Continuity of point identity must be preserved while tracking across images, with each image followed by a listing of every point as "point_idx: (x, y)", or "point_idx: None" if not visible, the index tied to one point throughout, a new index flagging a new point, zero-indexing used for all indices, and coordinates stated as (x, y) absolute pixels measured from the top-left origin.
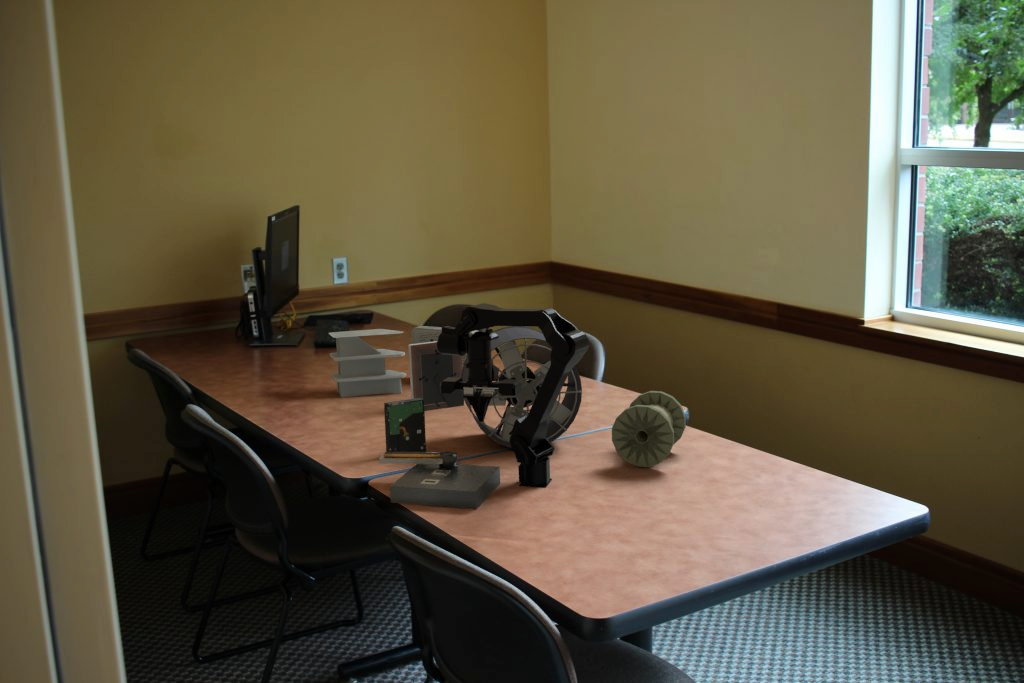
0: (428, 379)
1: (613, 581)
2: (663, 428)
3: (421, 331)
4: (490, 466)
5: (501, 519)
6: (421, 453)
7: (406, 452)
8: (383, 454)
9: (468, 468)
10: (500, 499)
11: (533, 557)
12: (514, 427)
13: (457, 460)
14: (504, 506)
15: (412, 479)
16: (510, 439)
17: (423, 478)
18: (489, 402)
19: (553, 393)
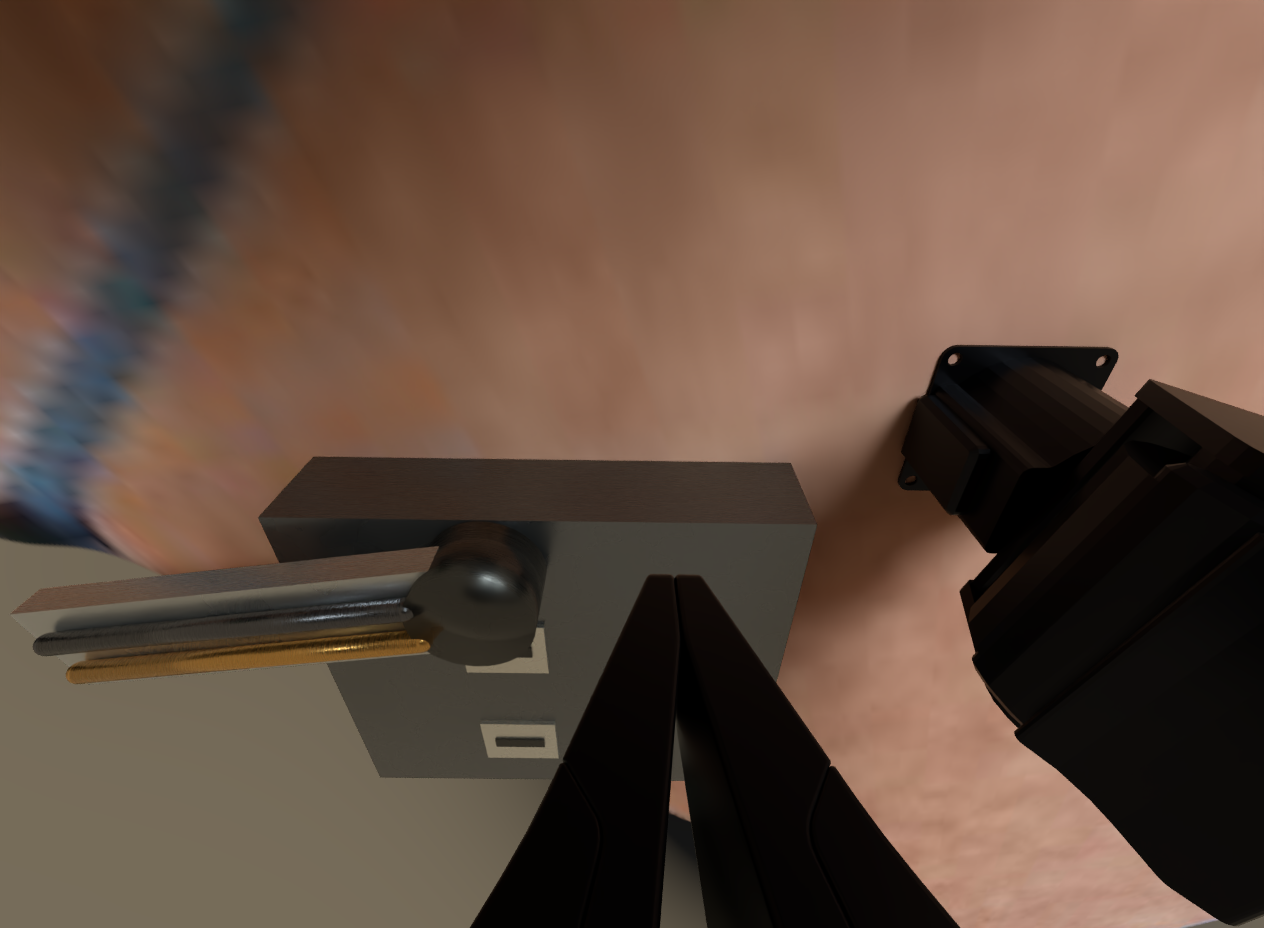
0: None
1: (1086, 910)
2: None
3: None
4: (755, 529)
5: (838, 755)
6: (283, 632)
7: (178, 642)
8: (74, 683)
9: (627, 576)
10: (816, 633)
11: (930, 874)
12: (1126, 825)
13: (539, 577)
14: (839, 682)
15: (420, 721)
16: (999, 696)
17: (463, 709)
18: (935, 919)
19: None
